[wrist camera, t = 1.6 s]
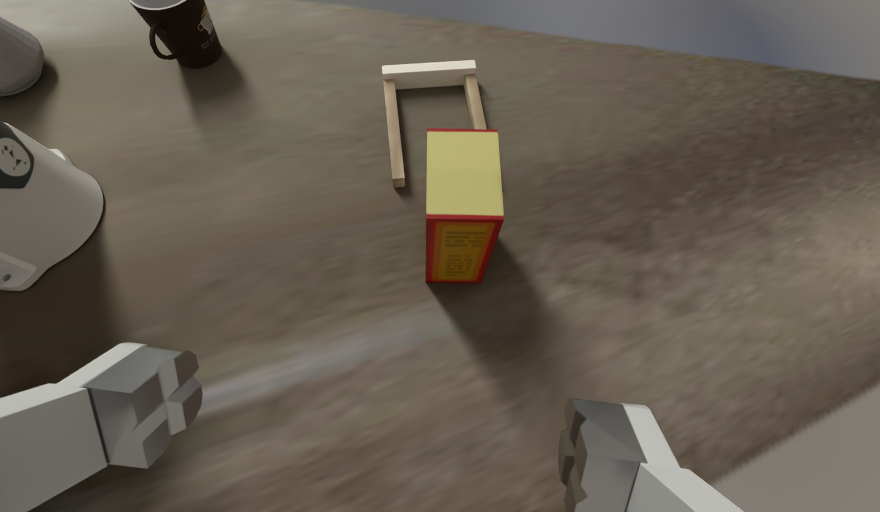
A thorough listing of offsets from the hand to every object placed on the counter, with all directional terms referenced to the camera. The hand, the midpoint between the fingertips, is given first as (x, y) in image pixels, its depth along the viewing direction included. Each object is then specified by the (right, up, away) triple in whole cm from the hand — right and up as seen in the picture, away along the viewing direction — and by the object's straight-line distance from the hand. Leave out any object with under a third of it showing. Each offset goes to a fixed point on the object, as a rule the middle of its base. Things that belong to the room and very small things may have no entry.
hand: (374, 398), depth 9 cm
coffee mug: (-35, +32, +54) cm, 72 cm away
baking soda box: (+3, +4, +43) cm, 44 cm away
